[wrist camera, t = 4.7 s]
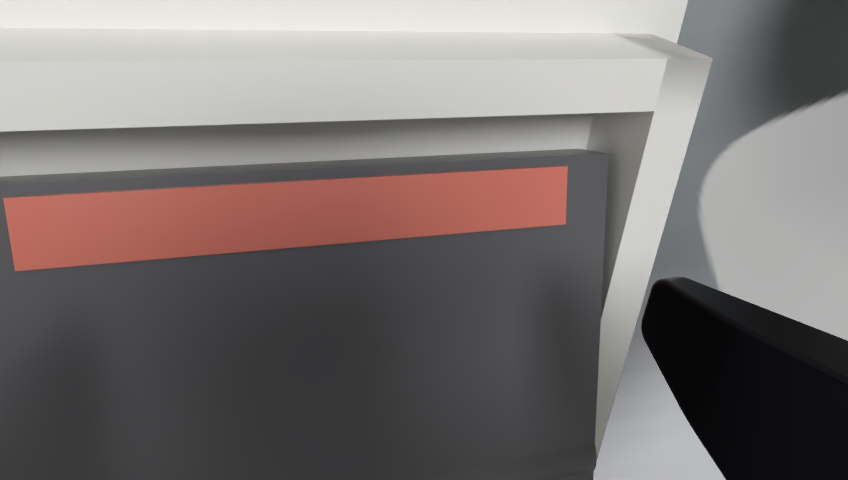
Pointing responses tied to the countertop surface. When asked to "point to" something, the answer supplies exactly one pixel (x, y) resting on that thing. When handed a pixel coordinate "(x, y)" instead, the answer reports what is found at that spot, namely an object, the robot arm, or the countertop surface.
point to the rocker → (305, 320)
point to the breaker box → (365, 98)
